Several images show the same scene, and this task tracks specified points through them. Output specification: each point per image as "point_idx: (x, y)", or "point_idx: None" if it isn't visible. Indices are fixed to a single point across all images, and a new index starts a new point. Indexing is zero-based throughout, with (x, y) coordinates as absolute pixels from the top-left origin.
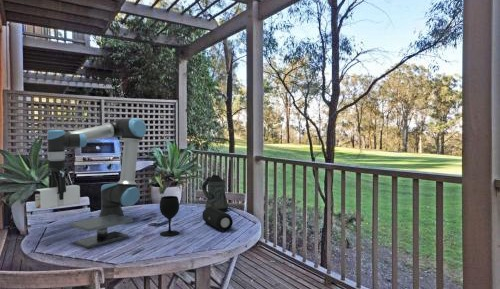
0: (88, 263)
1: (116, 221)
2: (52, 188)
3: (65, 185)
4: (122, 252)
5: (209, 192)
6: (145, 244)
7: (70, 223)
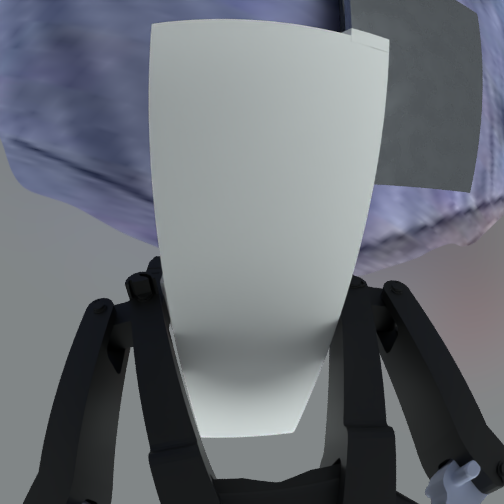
0: (473, 225)
1: (473, 67)
2: (269, 386)
3: (435, 335)
4: (489, 141)
5: None
6: (489, 69)
7: None
